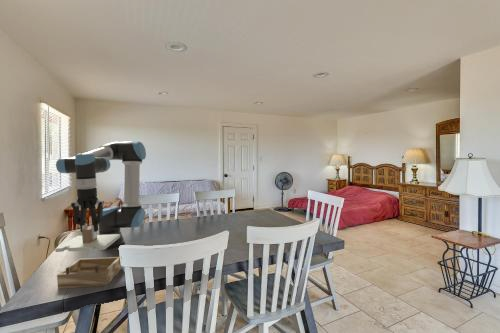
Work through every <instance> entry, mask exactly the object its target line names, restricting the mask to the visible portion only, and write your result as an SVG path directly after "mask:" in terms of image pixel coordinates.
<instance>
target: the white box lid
mask: <svg viewBox="0 0 500 333" xmlns="http://www.w3.org/2000/svg"><path fill="white" fill-rule="evenodd" d="M119 238H120V234H110V235H99V234H97V238H95V239H92V229H91V225H88V226H87V228H85V229H83V230H82V232H81V235H77V236H75V237H73V238H72V239H70V240H68V241H65V243H62V244H61V245H59V246H57V247H55V248H54V251H55V252H56V253H61V252H62V253H63V252H64V251H68V252H84V251H93V250H94V249H97V251H104V250H106V248H107V247H109V246H110V245H111V244H112V243H114V242H115V241H116V240H117V239H119ZM107 249H108V248H107Z"/></svg>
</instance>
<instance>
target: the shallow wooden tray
mask: <svg viewBox="0 0 500 333" xmlns="http://www.w3.org/2000/svg"><path fill="white" fill-rule="evenodd" d="M120 257H121V256H109V257H90V258H89V257H88V258H85V257H84V258H78V259H77V260H74V262H72V263H71V264H70V265H68V266H67V267H65V268H64V269H63V270H62V271H60V272H59V273H58V274H56V280H57V289H70V288H71V289H72V288H86V287H87V288H88V287H102V286H103V287H104V286H108V284H110V283H111V282H112V281H113V279H114V278H115V277H116V275H118V274H119V272H120V271H121V270H122V269H123V266H122V267H121V265H120Z"/></svg>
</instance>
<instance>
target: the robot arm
mask: <svg viewBox="0 0 500 333" xmlns="http://www.w3.org/2000/svg"><path fill="white" fill-rule="evenodd" d="M145 147H146V146H145V145H144V144H143V142H142V141H136V140H133V141H130V140H129V141H128V140H127V141H113V142H109V143H105V144H103V145H100V146H99V147H98V148H97V149H93V150H90V151H88V152H83V153H76V154H75V156H70V157H60V158H58V159H57V160H56V163H55V167H56V170H57V172H58V173H61V174H75V176H76V178H75V179H76V188H77V189H76V194H77V195H76V197H77V199H76V201H74V202H71V203H70V205H71V207H72V212H73V217H74V224H75V225H79V227H80V232H81V233H82V230H83V229H85V228H87V227H88V223H87V222H86V220H87V212H88V211H87V210H89V212H90V216H91V222H92V225H90V226H91V229H92V239H95V238H97V235H110V234H120V238H119V239H117V240H116V241H115V242H114V243H112V244H111V245H110V246H109V247H107V248H106V249H113V248H116V247H119V246H121V245H123V244H124V243H125V239H124V236H123V234H122V232H121V229H126V228H127V229H128V228H132V229H133V228H139V227H141V226H142V225H143V223H144V222H145V218H146V210H145V208H143V206H142V205H143V204H141V203H140V174H141V172H140V168H141V167H140V166H141V164H143V160H145V159H146V157H147V151H146V148H145ZM114 160H115V161H119V160H120V161H121V162H122V164H123V165H124V185H123V186H124V193H123V194H124V196H123V198H124V199H123V204H122V205H121V206H118V205H113V206H108V207H105V208H103V207H104V205H105V200H99V199H98V188H97V174H99V173H105V172H108V170H109V169H110V168H111V161H114ZM96 206H97V207H96ZM120 207H121V208H120ZM96 208H97V209H96ZM96 210H97V211H96ZM106 249H105V250H106Z"/></svg>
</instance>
